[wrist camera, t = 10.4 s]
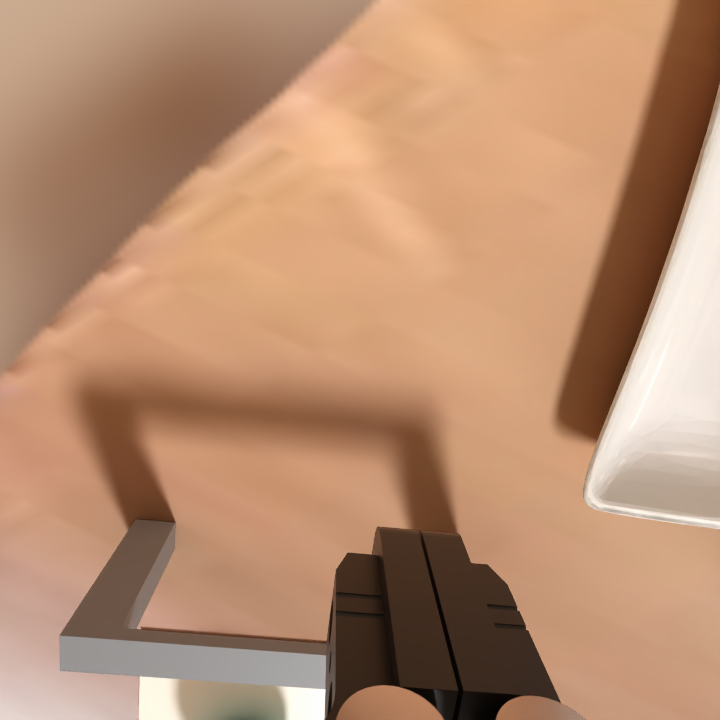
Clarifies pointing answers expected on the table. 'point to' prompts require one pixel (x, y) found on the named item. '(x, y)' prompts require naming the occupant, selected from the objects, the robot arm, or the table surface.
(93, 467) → the table surface
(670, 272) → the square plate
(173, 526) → the grey u-shaped frame
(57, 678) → the table surface
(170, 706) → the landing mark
